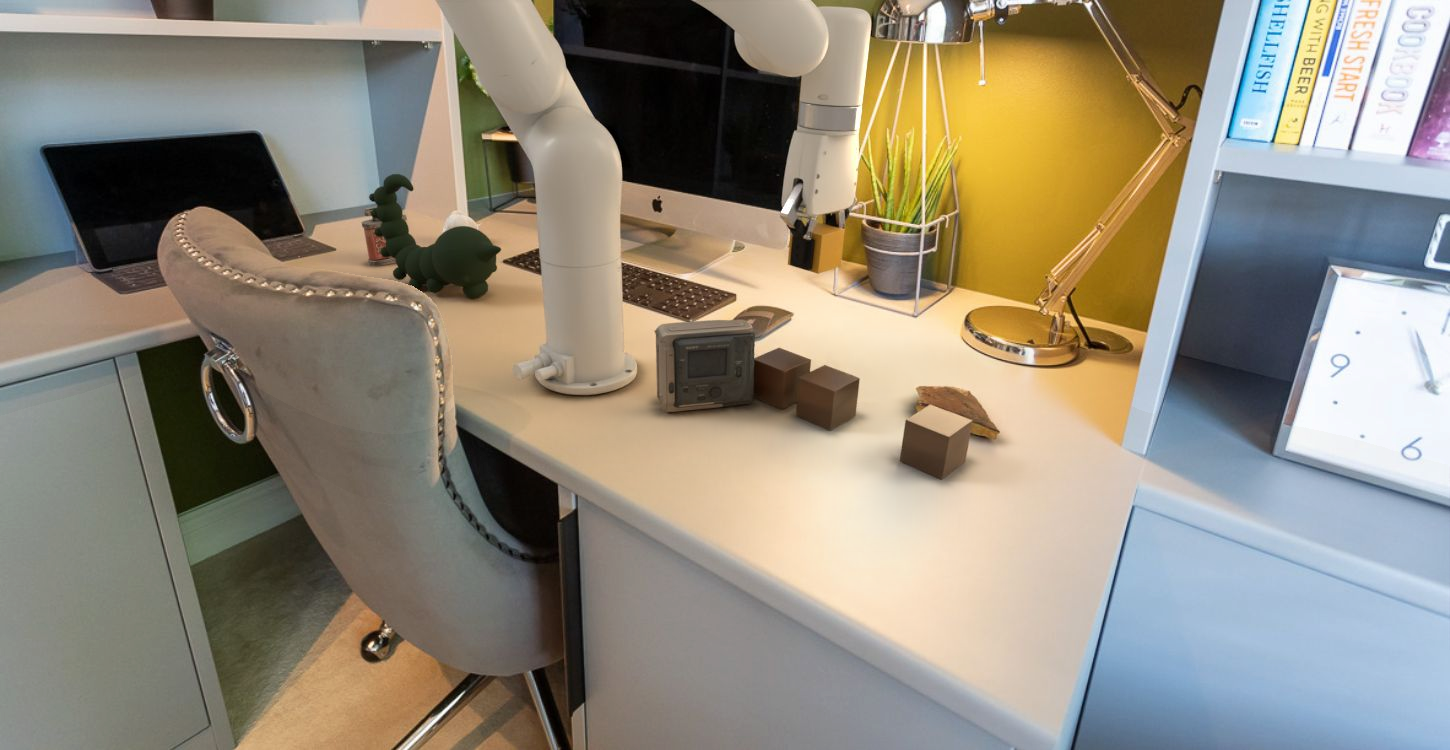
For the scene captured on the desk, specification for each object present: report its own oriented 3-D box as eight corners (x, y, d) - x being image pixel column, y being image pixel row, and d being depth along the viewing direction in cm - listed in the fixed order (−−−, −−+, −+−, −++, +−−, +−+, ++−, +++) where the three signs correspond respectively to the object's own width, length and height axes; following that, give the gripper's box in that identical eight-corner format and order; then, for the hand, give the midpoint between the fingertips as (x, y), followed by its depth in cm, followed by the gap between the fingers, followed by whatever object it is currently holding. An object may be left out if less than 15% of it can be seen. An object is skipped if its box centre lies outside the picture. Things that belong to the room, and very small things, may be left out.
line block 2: (830, 431, 88) (834, 391, 86) (795, 415, 91) (798, 377, 89) (855, 416, 91) (860, 377, 89) (821, 402, 94) (824, 364, 92)
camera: (745, 389, 97) (748, 313, 93) (756, 411, 92) (760, 332, 88) (653, 396, 95) (652, 319, 90) (660, 419, 90) (659, 338, 85)
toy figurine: (374, 295, 128) (487, 310, 117) (346, 178, 121) (464, 182, 110) (419, 280, 136) (529, 293, 125) (395, 168, 129) (510, 171, 117)
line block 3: (941, 480, 79) (949, 437, 77) (899, 461, 83) (905, 419, 80) (965, 461, 83) (973, 420, 81) (923, 444, 86) (930, 404, 84)
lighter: (405, 253, 144) (396, 199, 140) (416, 257, 142) (408, 202, 138) (364, 263, 138) (354, 207, 134) (375, 267, 136) (366, 210, 132)
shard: (998, 443, 86) (1000, 429, 86) (929, 443, 86) (931, 429, 85) (967, 398, 96) (970, 385, 95) (906, 398, 96) (908, 385, 95)
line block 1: (782, 410, 92) (784, 371, 90) (750, 396, 95) (752, 358, 93) (808, 396, 96) (811, 359, 93) (776, 383, 99) (779, 347, 97)
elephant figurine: (439, 241, 152) (435, 210, 149) (481, 237, 155) (478, 207, 153) (445, 250, 146) (441, 219, 144) (488, 246, 150) (485, 215, 147)
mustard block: (818, 273, 100) (822, 235, 97) (787, 264, 103) (790, 227, 100) (840, 266, 103) (845, 229, 101) (810, 257, 106) (814, 221, 104)
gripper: (844, 111, 103) (829, 246, 111) (760, 119, 91) (750, 269, 99) (893, 119, 98) (874, 258, 106) (811, 127, 87) (796, 283, 95)
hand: (814, 262), depth 103 cm, fingers closed on mustard block, 5 cm apart
